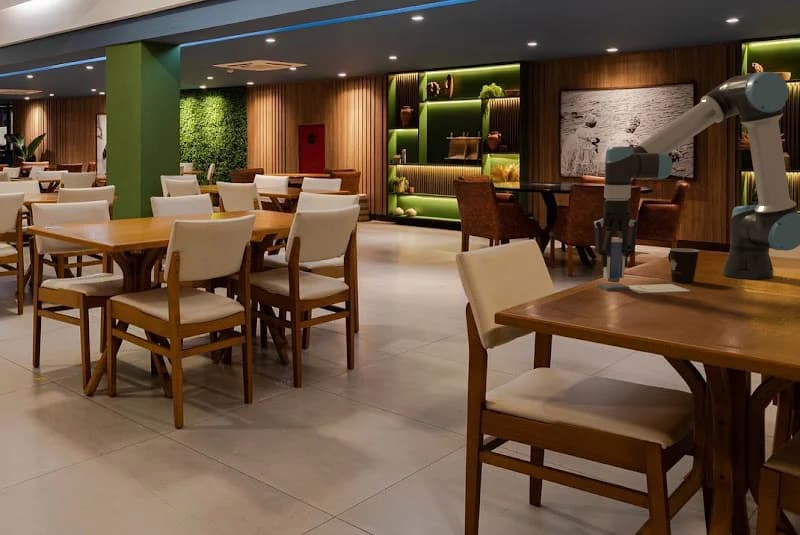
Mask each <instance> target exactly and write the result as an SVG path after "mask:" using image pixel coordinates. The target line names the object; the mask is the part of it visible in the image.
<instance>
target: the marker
mask: <svg viewBox="0 0 800 535" xmlns="http://www.w3.org/2000/svg"><path fill="white" fill-rule="evenodd" d="M622 242H623V238H619V236H617V237H616V236H615V237H613V236H612V240H611V244H610V249H609V253H608V256H609V257H610V278H609V279H607V282H608V283H620V279H621V278H620V277H621V259H622Z"/></svg>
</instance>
